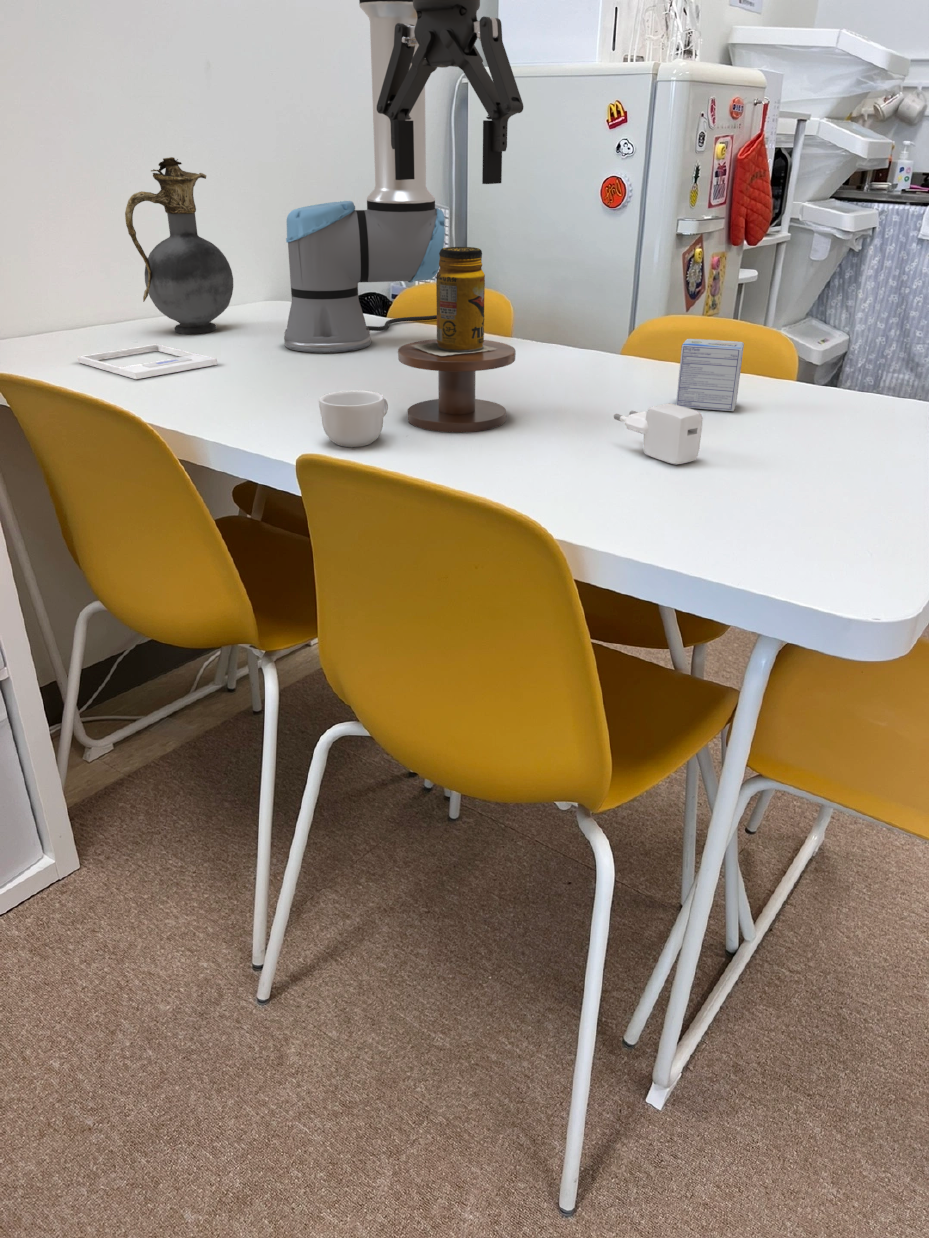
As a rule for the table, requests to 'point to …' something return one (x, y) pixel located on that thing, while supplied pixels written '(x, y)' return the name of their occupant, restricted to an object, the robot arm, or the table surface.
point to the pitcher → (182, 256)
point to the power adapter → (667, 432)
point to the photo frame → (151, 368)
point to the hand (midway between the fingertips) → (447, 182)
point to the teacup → (353, 416)
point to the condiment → (459, 303)
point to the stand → (457, 388)
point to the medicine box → (709, 374)
